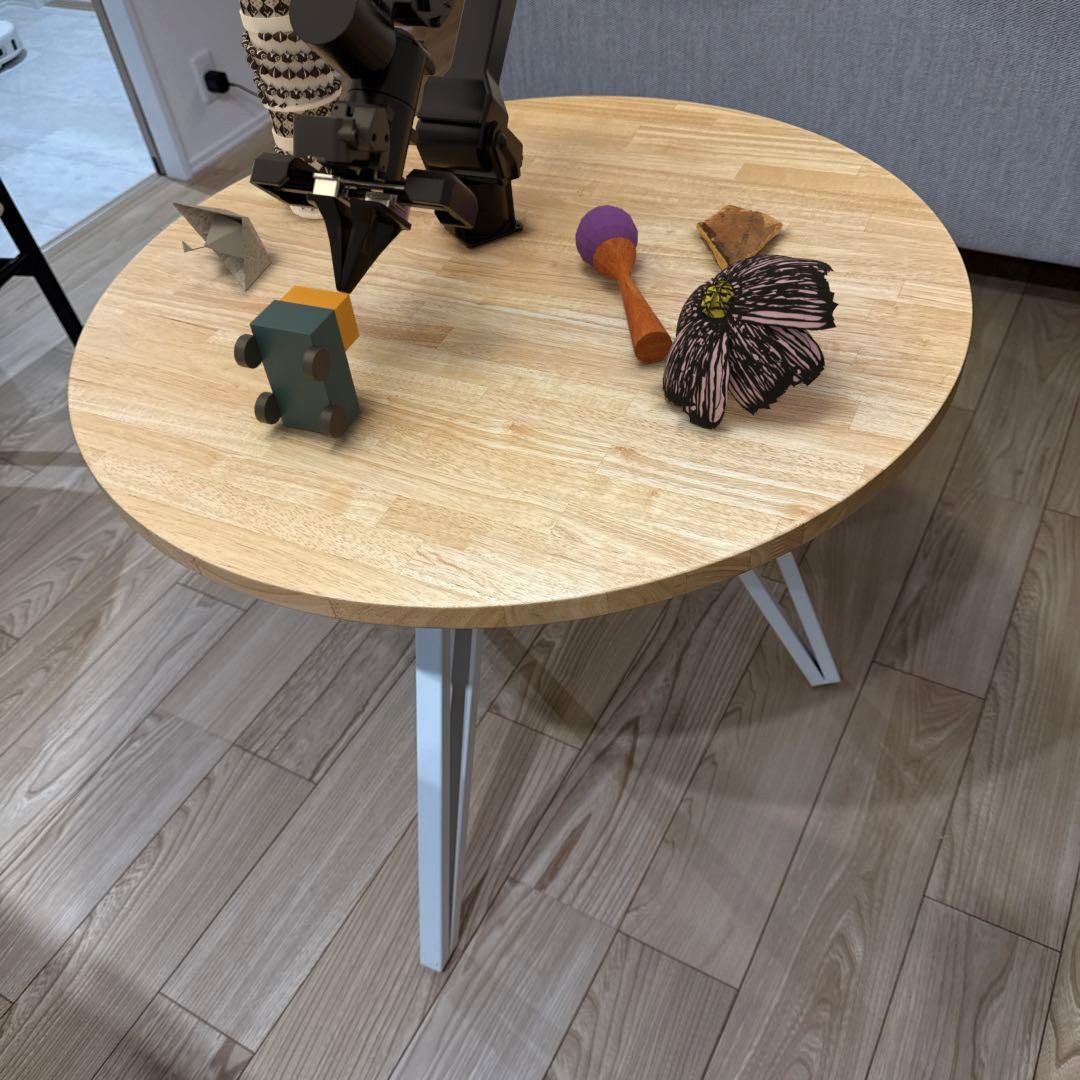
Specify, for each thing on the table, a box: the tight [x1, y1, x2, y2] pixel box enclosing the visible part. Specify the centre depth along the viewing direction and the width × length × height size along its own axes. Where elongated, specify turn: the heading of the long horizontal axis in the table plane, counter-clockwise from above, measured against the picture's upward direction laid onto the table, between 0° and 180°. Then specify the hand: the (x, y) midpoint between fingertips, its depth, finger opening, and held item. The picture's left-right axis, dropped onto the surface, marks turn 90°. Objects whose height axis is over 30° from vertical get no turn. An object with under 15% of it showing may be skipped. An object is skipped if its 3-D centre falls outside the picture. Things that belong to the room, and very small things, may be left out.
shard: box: [695, 204, 784, 271], centre depth 97 cm, size 11×8×2 cm
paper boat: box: [171, 201, 272, 292], centre depth 102 cm, size 12×6×9 cm
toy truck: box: [233, 284, 362, 439], centre depth 81 cm, size 8×7×10 cm
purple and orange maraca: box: [574, 204, 673, 364], centre depth 91 cm, size 6×6×20 cm
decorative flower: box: [662, 254, 839, 431], centre depth 80 cm, size 14×12×15 cm
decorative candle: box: [238, 0, 357, 220], centre depth 104 cm, size 9×9×25 cm
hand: (343, 292), depth 83 cm, fingers closed
